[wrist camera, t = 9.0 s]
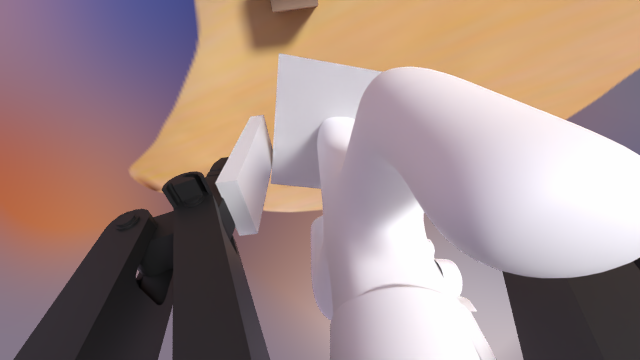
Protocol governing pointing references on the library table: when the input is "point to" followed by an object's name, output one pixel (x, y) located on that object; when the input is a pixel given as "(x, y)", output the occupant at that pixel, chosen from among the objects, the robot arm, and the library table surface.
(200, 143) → the library table surface
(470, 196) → the figurine
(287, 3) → the walnut block
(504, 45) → the library table surface
